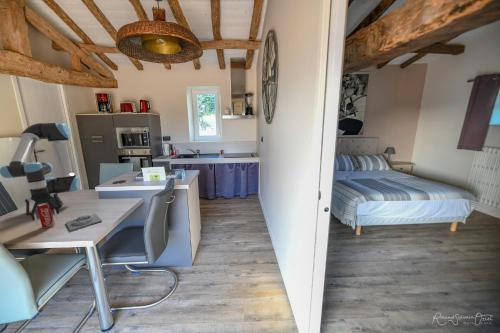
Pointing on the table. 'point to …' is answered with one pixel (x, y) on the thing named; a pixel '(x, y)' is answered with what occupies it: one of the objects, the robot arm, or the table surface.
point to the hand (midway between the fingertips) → (47, 221)
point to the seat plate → (75, 227)
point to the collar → (78, 222)
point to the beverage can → (45, 215)
